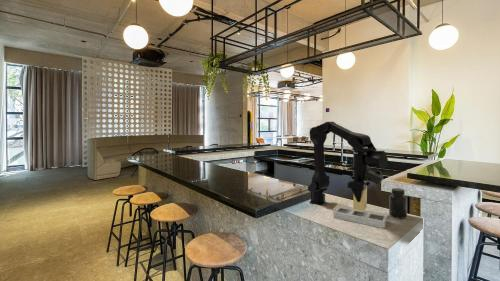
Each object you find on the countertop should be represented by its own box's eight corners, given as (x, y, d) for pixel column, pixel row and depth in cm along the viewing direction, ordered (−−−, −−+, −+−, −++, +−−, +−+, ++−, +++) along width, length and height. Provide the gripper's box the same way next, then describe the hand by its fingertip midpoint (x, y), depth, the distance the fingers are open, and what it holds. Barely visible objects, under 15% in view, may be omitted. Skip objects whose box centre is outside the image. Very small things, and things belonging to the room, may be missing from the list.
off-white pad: (333, 209, 117) (333, 208, 117) (338, 204, 124) (338, 203, 124) (355, 214, 111) (355, 213, 111) (359, 208, 118) (359, 207, 118)
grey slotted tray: (333, 217, 108) (333, 212, 108) (338, 211, 115) (338, 206, 114) (384, 228, 96) (384, 222, 96) (387, 221, 103) (387, 215, 102)
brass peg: (353, 209, 104) (353, 186, 104) (355, 205, 108) (356, 183, 107) (364, 211, 102) (364, 187, 101) (366, 207, 105) (366, 185, 105)
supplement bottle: (400, 212, 112) (400, 187, 111) (410, 218, 105) (411, 191, 104) (385, 213, 111) (386, 187, 110) (394, 219, 105) (395, 192, 104)
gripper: (378, 170, 91) (377, 211, 92) (385, 162, 106) (384, 197, 107) (347, 167, 98) (346, 205, 99) (357, 160, 113) (357, 193, 114)
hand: (360, 200), depth 105 cm, fingers closed on brass peg, 4 cm apart
